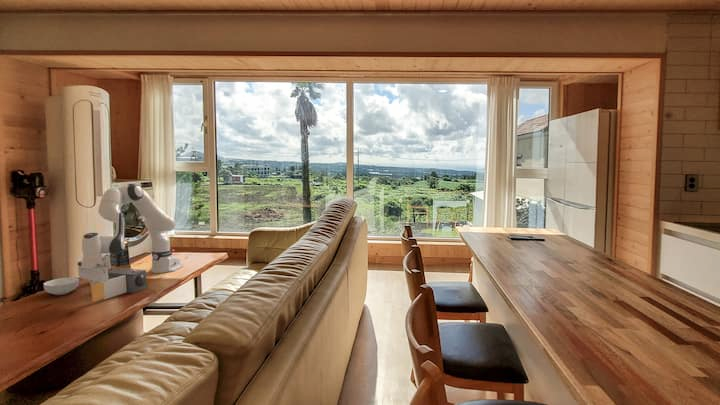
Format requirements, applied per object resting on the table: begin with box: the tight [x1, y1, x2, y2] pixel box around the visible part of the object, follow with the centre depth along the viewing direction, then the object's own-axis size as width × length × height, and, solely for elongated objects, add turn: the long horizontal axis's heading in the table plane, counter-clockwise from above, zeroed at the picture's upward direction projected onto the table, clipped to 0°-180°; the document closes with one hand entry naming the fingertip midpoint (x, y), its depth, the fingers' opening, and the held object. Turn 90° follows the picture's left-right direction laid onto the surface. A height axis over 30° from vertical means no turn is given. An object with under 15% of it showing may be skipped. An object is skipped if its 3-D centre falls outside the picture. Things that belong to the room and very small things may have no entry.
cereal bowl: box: [43, 277, 80, 296], centre depth 239 cm, size 17×17×7 cm
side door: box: [90, 275, 128, 302], centre depth 230 cm, size 20×2×10 cm, turn 157°
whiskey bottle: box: [109, 224, 132, 270], centre depth 284 cm, size 10×10×32 cm
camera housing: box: [108, 268, 148, 294], centre depth 246 cm, size 10×22×12 cm, turn 74°
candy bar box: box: [98, 253, 111, 283], centre depth 262 cm, size 11×5×16 cm, turn 168°
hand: (94, 287), depth 224 cm, fingers closed
